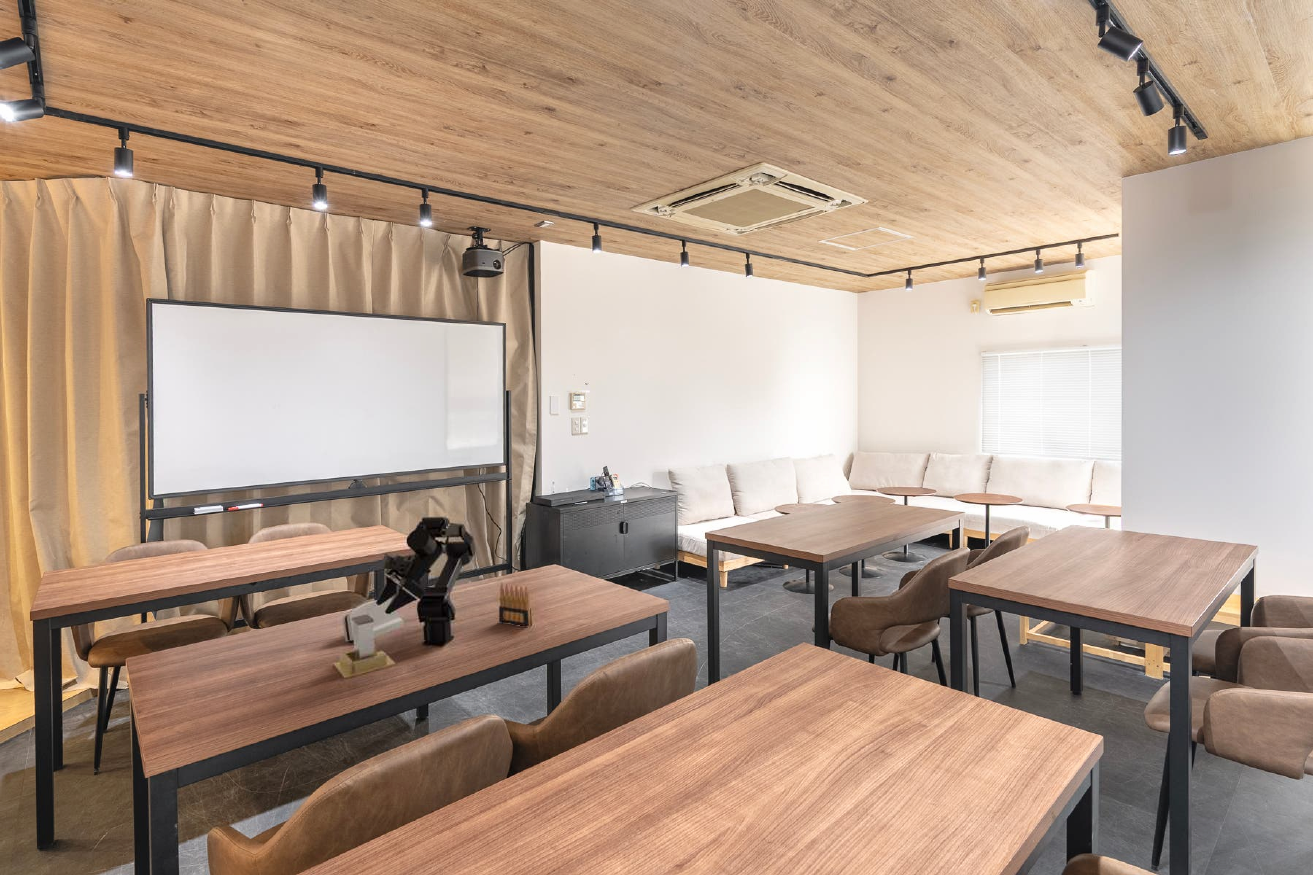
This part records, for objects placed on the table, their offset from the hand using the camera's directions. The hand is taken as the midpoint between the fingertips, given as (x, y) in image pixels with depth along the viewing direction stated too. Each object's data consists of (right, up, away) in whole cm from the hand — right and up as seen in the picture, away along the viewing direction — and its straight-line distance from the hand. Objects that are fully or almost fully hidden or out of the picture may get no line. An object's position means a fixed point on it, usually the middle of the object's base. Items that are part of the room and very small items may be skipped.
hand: (381, 608), depth 167 cm
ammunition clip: (+29, -11, +25) cm, 40 cm away
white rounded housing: (-11, -13, +20) cm, 26 cm away
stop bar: (-3, -13, -3) cm, 14 cm away
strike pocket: (-3, -14, -3) cm, 14 cm away
